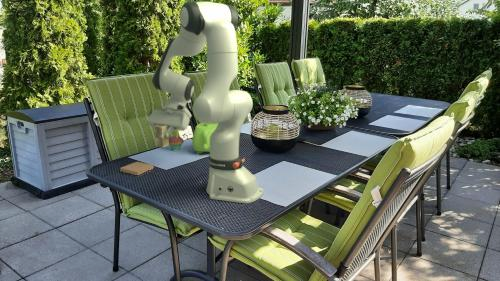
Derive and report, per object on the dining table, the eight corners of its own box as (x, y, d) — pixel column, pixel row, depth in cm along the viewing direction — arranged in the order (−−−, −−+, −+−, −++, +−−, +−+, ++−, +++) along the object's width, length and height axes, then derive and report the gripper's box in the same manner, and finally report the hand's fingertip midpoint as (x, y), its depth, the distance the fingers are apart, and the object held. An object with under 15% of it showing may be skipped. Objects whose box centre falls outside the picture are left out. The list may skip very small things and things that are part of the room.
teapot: (232, 157, 186) (232, 126, 182) (189, 157, 187) (188, 126, 182) (235, 143, 210) (235, 116, 206) (197, 143, 211) (196, 115, 206)
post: (168, 145, 168) (167, 125, 166) (163, 147, 165) (161, 127, 163) (161, 144, 170) (160, 124, 168) (155, 146, 167) (154, 126, 164)
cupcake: (187, 148, 200) (186, 126, 197) (176, 152, 193) (175, 130, 190) (175, 146, 204) (174, 124, 201) (164, 150, 197) (162, 128, 194)
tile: (153, 170, 169) (153, 165, 169) (137, 177, 161) (137, 172, 160) (137, 166, 174) (136, 161, 173) (120, 173, 165) (120, 167, 165)
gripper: (152, 103, 173) (138, 128, 168) (188, 107, 165) (175, 134, 159) (159, 111, 178) (146, 136, 173) (194, 115, 170) (182, 141, 164)
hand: (160, 135), depth 166 cm, fingers closed on post, 4 cm apart
